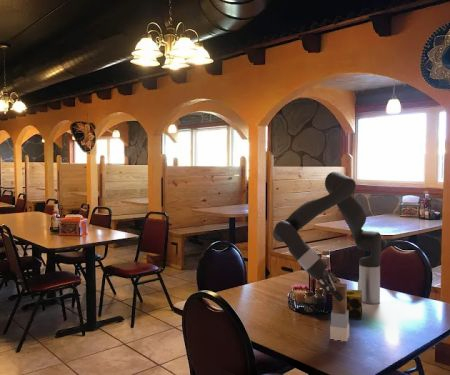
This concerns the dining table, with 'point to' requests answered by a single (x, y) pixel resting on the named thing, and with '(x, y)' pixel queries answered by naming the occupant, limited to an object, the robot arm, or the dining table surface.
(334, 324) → the block
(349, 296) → the yellow patterned cube
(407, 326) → the dining table surface
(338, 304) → the pillar
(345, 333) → the tower base
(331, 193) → the robot arm
